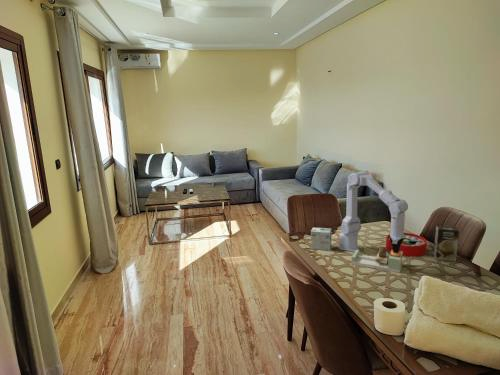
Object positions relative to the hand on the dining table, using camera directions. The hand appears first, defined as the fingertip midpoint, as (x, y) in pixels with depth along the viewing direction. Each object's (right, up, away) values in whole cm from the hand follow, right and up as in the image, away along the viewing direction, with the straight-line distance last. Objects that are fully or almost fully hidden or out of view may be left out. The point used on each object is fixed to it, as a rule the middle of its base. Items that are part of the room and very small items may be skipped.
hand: (395, 252), depth 163 cm
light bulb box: (-30, -3, +29) cm, 41 cm away
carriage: (-5, -5, +4) cm, 8 cm away
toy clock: (+15, -3, +22) cm, 27 cm away
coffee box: (+29, -5, +9) cm, 30 cm away
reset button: (0, -6, +1) cm, 6 cm away
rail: (-7, -7, +6) cm, 11 cm away
